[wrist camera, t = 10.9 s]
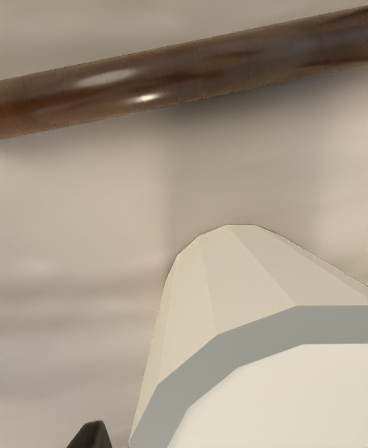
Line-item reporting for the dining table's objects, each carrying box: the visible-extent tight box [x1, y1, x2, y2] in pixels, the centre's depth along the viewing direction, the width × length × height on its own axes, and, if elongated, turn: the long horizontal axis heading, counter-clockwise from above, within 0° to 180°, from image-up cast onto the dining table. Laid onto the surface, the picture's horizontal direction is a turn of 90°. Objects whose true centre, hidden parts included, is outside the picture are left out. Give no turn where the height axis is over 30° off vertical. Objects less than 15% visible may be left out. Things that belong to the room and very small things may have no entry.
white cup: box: [128, 225, 368, 448], centre depth 9 cm, size 7×7×7 cm
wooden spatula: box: [0, 5, 368, 140], centre depth 10 cm, size 5×22×2 cm, turn 101°
